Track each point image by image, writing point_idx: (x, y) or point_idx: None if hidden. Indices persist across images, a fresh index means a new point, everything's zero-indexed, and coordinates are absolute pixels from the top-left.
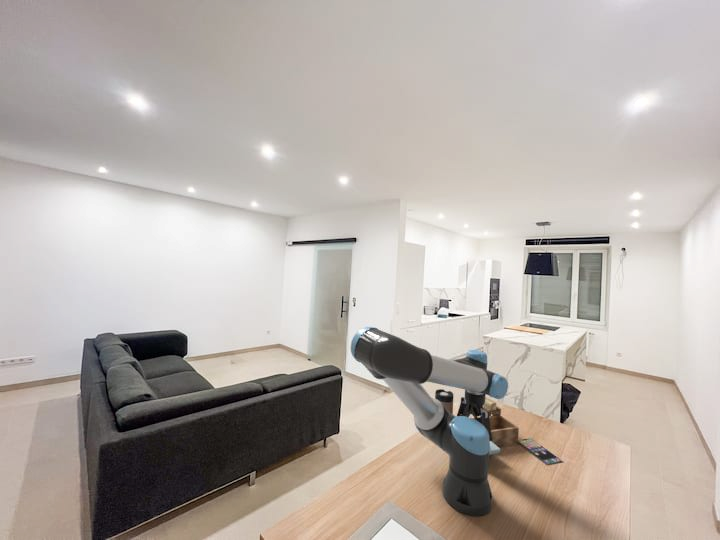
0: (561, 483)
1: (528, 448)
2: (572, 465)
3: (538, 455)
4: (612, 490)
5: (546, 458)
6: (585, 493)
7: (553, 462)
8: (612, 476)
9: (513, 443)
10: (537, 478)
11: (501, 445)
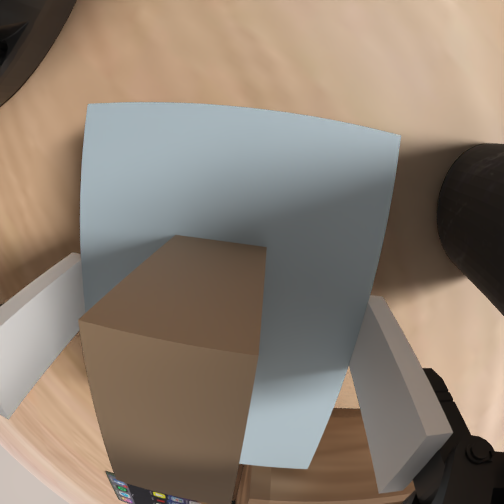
0: (28, 424)
1: (192, 501)
2: (104, 497)
3: (150, 492)
4: (28, 465)
5: (133, 491)
6: (5, 425)
7: (113, 487)
8: (71, 500)
9: (237, 495)
10: (38, 397)
11: (244, 466)
